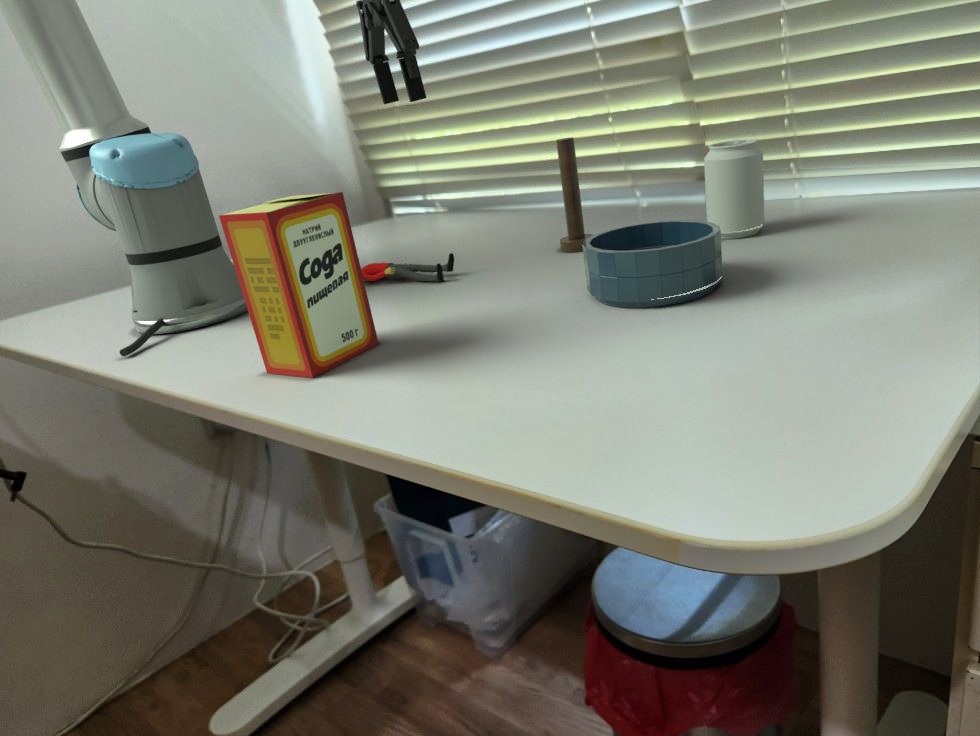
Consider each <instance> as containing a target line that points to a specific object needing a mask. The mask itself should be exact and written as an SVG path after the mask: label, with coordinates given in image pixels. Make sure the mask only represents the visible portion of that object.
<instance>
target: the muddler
mask: <svg viewBox="0 0 980 736" xmlns="http://www.w3.org/2000/svg"><path fill="white" fill-rule="evenodd" d="M555 141H556V150H557V157H558V166H559V167H558V168H559V175H560V181H561V182H560V183H561V190H562V199H563V206H564V215H565V222H566V230H567V235H566V236H563V237H561V238H560V239H559V247H560V251H561V252H563V253H579V252H583V247H582V244H583V242H584V240H585V239H587V238H589V237H591V236H592V235H594V234H593V233H586V231H585V224H584V215H583V207H582V196H581V187H580V181H579V180H580V179H579V171H578V164H577V154H576V153H577V152H576V146H575V138H574V136H573V137H563V138H558V139H556V140H555Z"/></svg>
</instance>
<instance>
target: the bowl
mask: <svg viewBox="0 0 980 736" xmlns="http://www.w3.org/2000/svg"><path fill="white" fill-rule="evenodd" d="M582 247H583V251H582V255H583V264H584V272H585V280H586V289H587V292H588V293H589V294H590V296H591V297H594V298H595V299H596V300H597V301H598V302H599V303H601V304H604V305H606V306H611V307H617V308H627V309H629V308H630V309H640V308H641V309H642V308H644V309H645V308H658V307H665V306H672V305H677V304H682V303H686V302H690V301H692V300H696V299H698V298H701V297H704V296H705V295H707V294H709V293H711V292H712V291H714V290H715V288H716V287H717V285H718V284H719V283H720V282H721V281H722V280H723V277H724V276H723V256H722V255H723V253H722V238H721V231H720V226H718V225H716V224H714V223H712V222H707V220H706V221H705V220H697V219H673V220H672V219H671V220H657V221H648V222H647V221H646V222H639V223H634V224H628V225H627V224H626V225H622V226H618V227H614V228H611V229H610V228H609V229H605V230H604V231H601V232H598V233H595V234H593V235H592V236H591V237H589V238H587V239H585V240H584V242H583V244H582ZM721 276H723V277H722V278H721V279H720V280H719V281H718V282H717V283H716V284H714V285H712V286H710V287H708V288H706V289H703V290H700V291H696V292H693V293H690V294H686V295H681V296H675V297H670V298H664V297H669V296H674V295H679V294H683V293H687V292H690V291H693V290H696V289H699V288H702V287H704V286H707V285H709V284H711V283H713V282H715V281H717V280H718V279H719V278H720V277H721ZM657 298H664V299H657ZM651 299H654V300H651Z"/></svg>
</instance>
